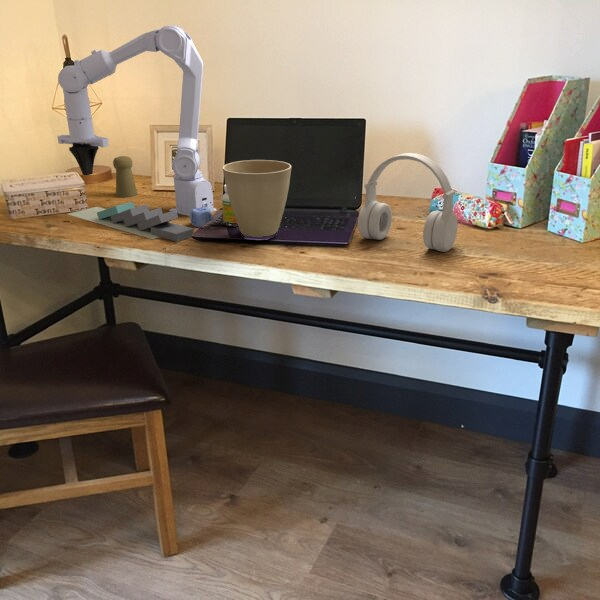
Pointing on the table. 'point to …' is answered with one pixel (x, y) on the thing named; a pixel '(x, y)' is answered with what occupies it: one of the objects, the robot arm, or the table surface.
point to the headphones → (437, 225)
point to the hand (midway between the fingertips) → (87, 174)
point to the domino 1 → (115, 210)
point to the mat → (93, 217)
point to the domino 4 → (157, 220)
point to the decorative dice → (200, 216)
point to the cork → (124, 177)
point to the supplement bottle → (227, 208)
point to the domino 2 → (129, 213)
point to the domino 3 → (142, 217)
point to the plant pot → (257, 194)
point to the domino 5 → (172, 231)
